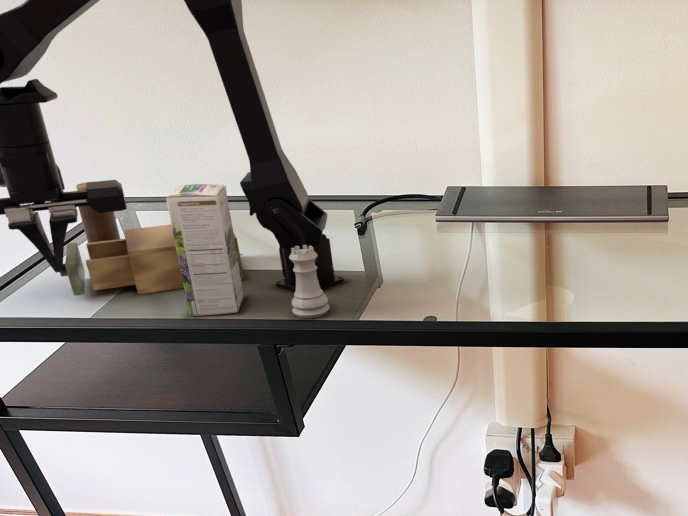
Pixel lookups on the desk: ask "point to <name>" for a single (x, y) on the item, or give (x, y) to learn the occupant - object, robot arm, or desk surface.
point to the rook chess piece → (307, 285)
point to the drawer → (99, 266)
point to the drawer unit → (157, 259)
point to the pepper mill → (97, 222)
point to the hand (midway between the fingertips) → (59, 271)
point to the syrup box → (206, 248)
